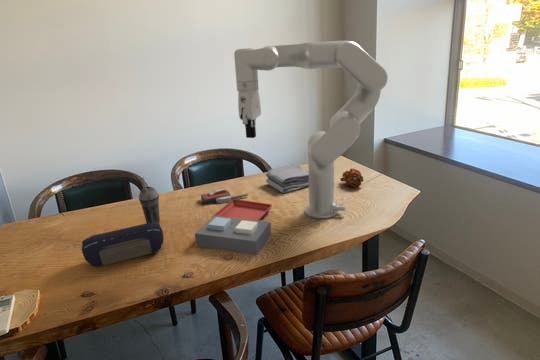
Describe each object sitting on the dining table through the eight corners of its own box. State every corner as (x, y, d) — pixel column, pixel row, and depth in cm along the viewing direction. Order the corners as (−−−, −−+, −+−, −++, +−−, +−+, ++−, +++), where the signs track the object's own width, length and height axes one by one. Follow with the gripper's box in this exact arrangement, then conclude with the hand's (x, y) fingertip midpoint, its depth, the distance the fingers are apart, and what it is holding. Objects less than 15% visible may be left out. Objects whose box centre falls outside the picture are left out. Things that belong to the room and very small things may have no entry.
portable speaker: (86, 275, 122) (78, 247, 119) (85, 260, 131) (79, 233, 127) (168, 254, 131) (164, 227, 128) (163, 241, 140) (158, 215, 136)
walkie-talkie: (203, 208, 165) (248, 198, 172) (202, 198, 164) (248, 189, 171) (198, 200, 173) (242, 191, 180) (197, 191, 171) (241, 182, 178)
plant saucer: (253, 232, 143) (252, 224, 142) (210, 225, 150) (209, 217, 149) (273, 211, 159) (273, 204, 157) (233, 206, 166) (233, 198, 165)
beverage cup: (167, 222, 153) (159, 173, 146) (155, 231, 147) (146, 180, 140) (152, 219, 156) (144, 171, 149) (139, 228, 150) (130, 178, 143)
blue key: (232, 231, 140) (230, 218, 139) (225, 239, 135) (223, 226, 134) (217, 229, 142) (215, 217, 141) (209, 237, 137) (208, 224, 135)
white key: (258, 235, 137) (257, 222, 135) (252, 243, 132) (251, 229, 130) (243, 233, 139) (242, 220, 137) (236, 241, 134) (235, 227, 132)
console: (271, 234, 140) (270, 221, 139) (256, 255, 128) (255, 241, 126) (215, 227, 148) (213, 215, 146) (196, 246, 135) (194, 233, 133)
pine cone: (359, 193, 174) (343, 189, 184) (371, 179, 175) (354, 175, 186) (349, 181, 170) (333, 176, 181) (361, 166, 172) (345, 163, 182)
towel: (265, 185, 186) (264, 169, 183) (297, 176, 194) (297, 161, 192) (282, 195, 173) (282, 178, 171) (316, 185, 182) (316, 169, 179)
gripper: (249, 89, 131) (253, 143, 137) (265, 82, 144) (267, 132, 150) (228, 89, 133) (233, 142, 140) (245, 83, 146) (249, 131, 153)
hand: (251, 137), depth 145 cm, fingers closed
